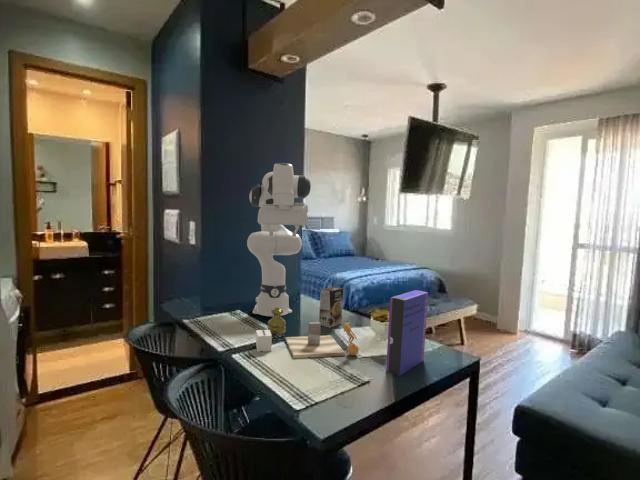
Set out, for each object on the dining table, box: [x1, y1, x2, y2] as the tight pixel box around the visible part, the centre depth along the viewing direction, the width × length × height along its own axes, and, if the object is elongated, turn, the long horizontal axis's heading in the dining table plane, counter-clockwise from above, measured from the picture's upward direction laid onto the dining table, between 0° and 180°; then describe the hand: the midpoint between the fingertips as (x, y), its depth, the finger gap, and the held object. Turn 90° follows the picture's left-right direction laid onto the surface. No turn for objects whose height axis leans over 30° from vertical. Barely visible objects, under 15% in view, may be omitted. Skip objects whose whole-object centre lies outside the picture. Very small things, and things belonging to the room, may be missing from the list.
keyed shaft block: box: [284, 321, 346, 359], centre depth 139 cm, size 18×18×9 cm
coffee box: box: [318, 286, 344, 329], centre depth 169 cm, size 9×6×16 cm
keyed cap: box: [255, 329, 273, 353], centre depth 137 cm, size 7×5×6 cm
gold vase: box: [266, 308, 287, 335], centre depth 155 cm, size 7×7×10 cm
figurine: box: [342, 321, 360, 356], centre depth 133 cm, size 8×6×12 cm
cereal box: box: [385, 289, 429, 377], centre depth 126 cm, size 17×5×24 cm, turn 141°
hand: (282, 236), depth 155 cm, fingers open, 8 cm apart
